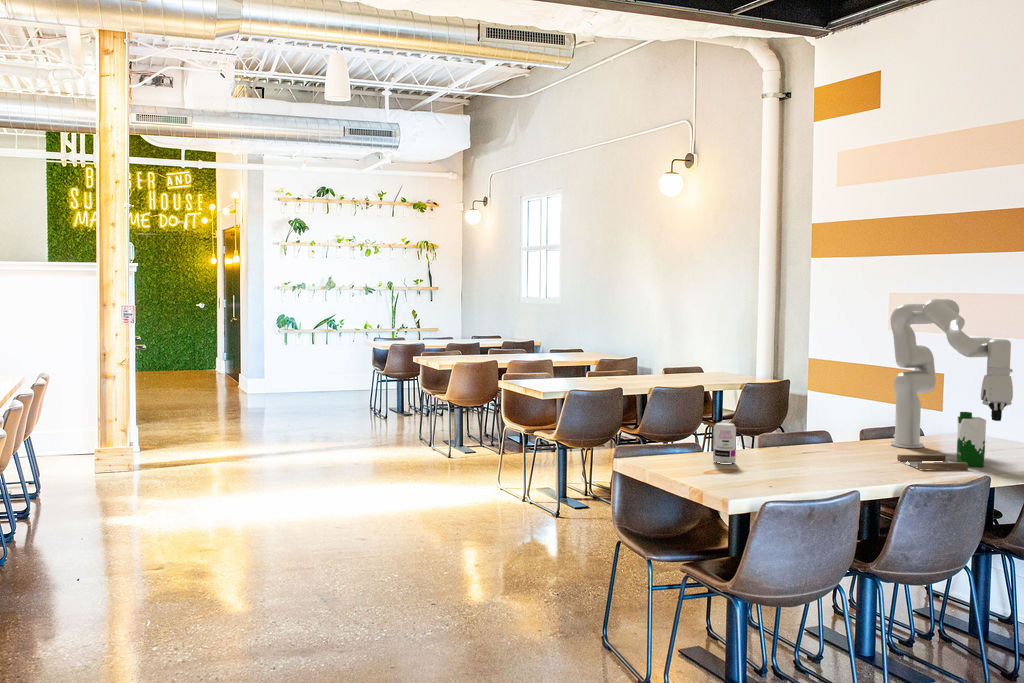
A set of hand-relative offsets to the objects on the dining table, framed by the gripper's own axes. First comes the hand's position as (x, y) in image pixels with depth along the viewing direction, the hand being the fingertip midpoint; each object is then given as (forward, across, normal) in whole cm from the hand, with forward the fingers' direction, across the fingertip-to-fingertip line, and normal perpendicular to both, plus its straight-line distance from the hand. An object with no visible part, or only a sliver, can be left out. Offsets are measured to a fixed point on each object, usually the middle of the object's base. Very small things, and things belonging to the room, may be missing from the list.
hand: (996, 420), depth 322 cm
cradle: (+17, +24, 0) cm, 30 cm away
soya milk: (+17, +10, 0) cm, 20 cm away
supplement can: (+17, +101, -9) cm, 103 cm away
